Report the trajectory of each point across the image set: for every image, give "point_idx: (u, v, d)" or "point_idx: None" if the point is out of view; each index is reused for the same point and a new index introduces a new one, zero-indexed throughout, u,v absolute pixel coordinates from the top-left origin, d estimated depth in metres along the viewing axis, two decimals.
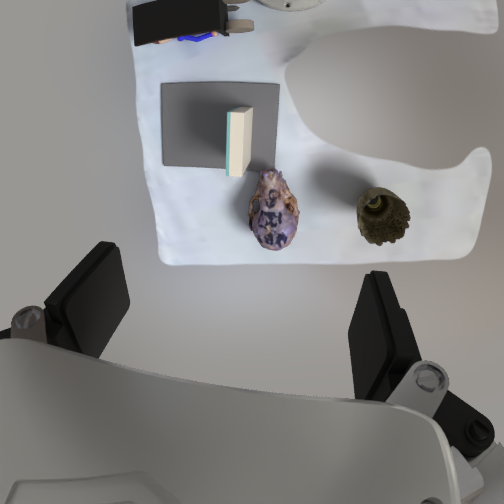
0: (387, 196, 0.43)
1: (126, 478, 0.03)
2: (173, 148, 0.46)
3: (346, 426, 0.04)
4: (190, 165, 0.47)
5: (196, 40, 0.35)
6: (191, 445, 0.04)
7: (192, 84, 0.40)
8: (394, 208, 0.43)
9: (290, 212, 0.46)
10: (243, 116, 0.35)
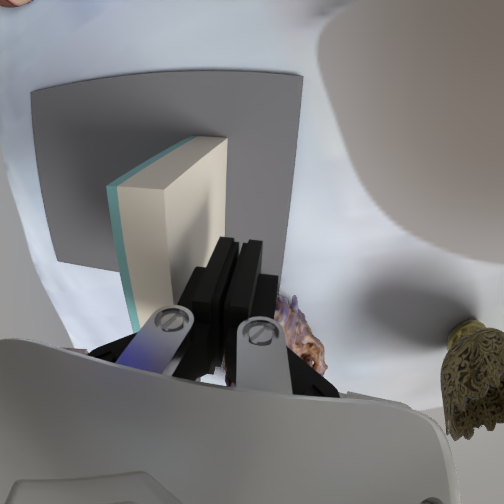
0: None
1: (126, 478, 0.03)
2: (65, 230, 0.20)
3: (346, 427, 0.04)
4: (101, 266, 0.21)
5: None
6: (191, 445, 0.04)
7: (83, 85, 0.15)
8: None
9: None
10: (163, 203, 0.09)
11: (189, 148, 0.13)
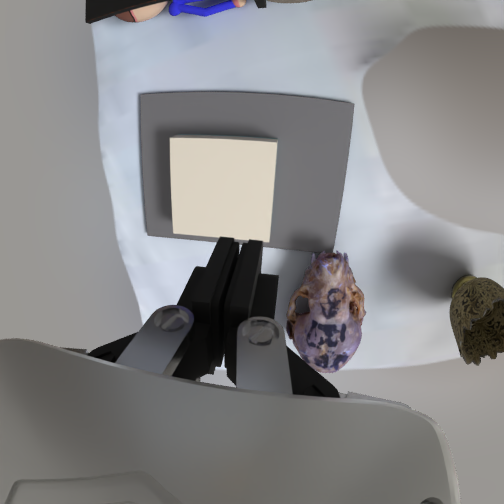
0: None
1: (126, 478, 0.03)
2: (162, 208, 0.27)
3: (346, 427, 0.04)
4: (192, 237, 0.28)
5: (204, 13, 0.18)
6: (191, 445, 0.04)
7: (194, 95, 0.22)
8: (493, 303, 0.25)
9: (355, 317, 0.28)
10: (171, 143, 0.23)
11: (238, 137, 0.23)
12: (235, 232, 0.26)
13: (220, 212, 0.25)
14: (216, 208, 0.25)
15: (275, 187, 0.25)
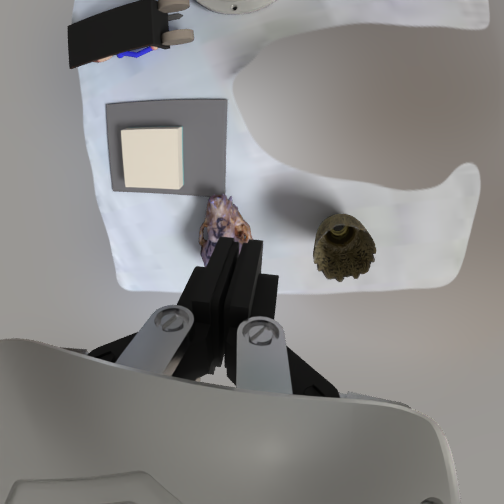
0: None
1: (126, 478, 0.03)
2: (120, 173, 0.42)
3: (347, 427, 0.04)
4: (139, 190, 0.43)
5: (135, 56, 0.32)
6: (191, 445, 0.04)
7: (135, 104, 0.37)
8: (361, 236, 0.40)
9: (242, 241, 0.42)
10: (122, 133, 0.37)
11: (158, 127, 0.37)
12: (159, 184, 0.40)
13: (150, 172, 0.39)
14: (148, 170, 0.39)
15: (183, 156, 0.40)
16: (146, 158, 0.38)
